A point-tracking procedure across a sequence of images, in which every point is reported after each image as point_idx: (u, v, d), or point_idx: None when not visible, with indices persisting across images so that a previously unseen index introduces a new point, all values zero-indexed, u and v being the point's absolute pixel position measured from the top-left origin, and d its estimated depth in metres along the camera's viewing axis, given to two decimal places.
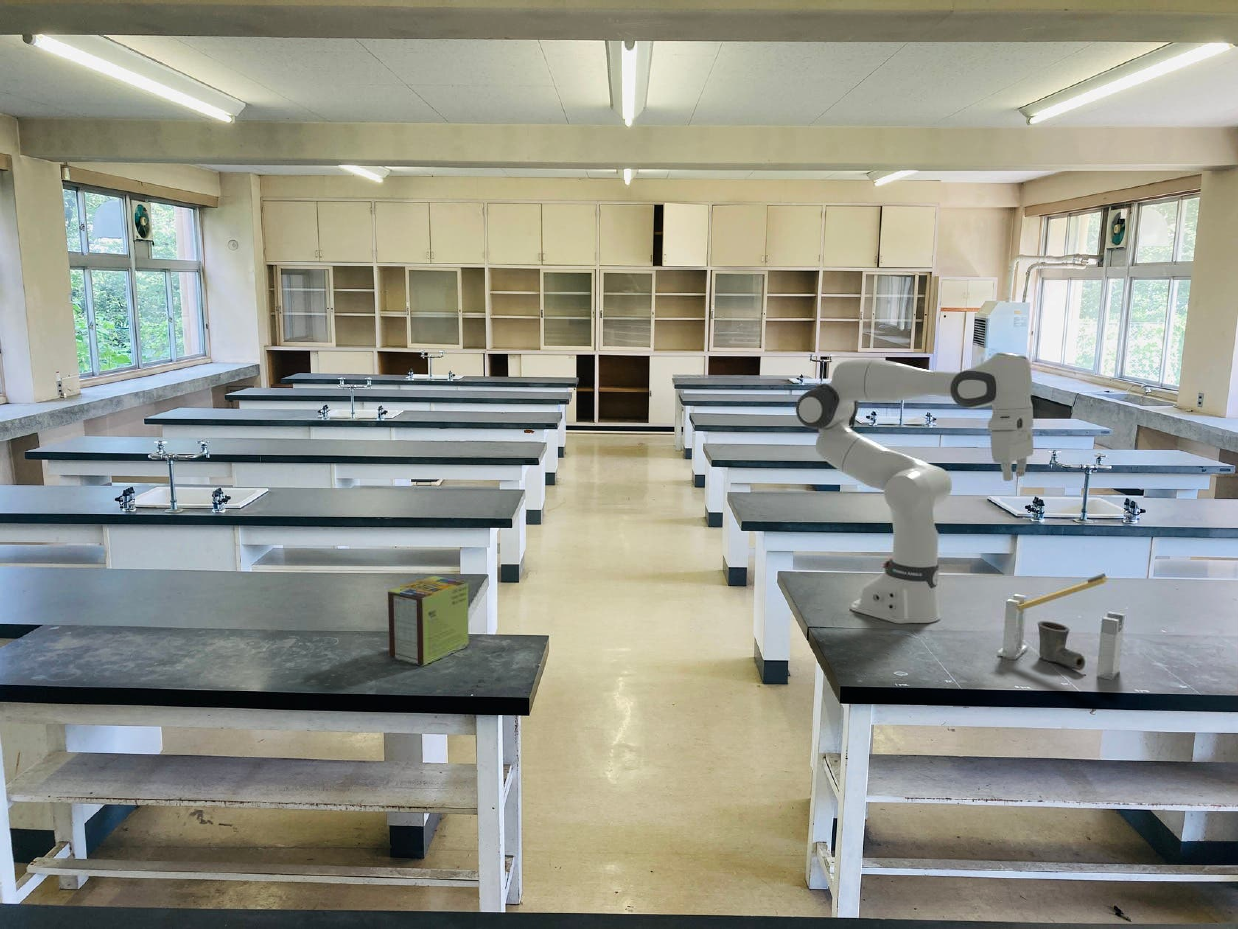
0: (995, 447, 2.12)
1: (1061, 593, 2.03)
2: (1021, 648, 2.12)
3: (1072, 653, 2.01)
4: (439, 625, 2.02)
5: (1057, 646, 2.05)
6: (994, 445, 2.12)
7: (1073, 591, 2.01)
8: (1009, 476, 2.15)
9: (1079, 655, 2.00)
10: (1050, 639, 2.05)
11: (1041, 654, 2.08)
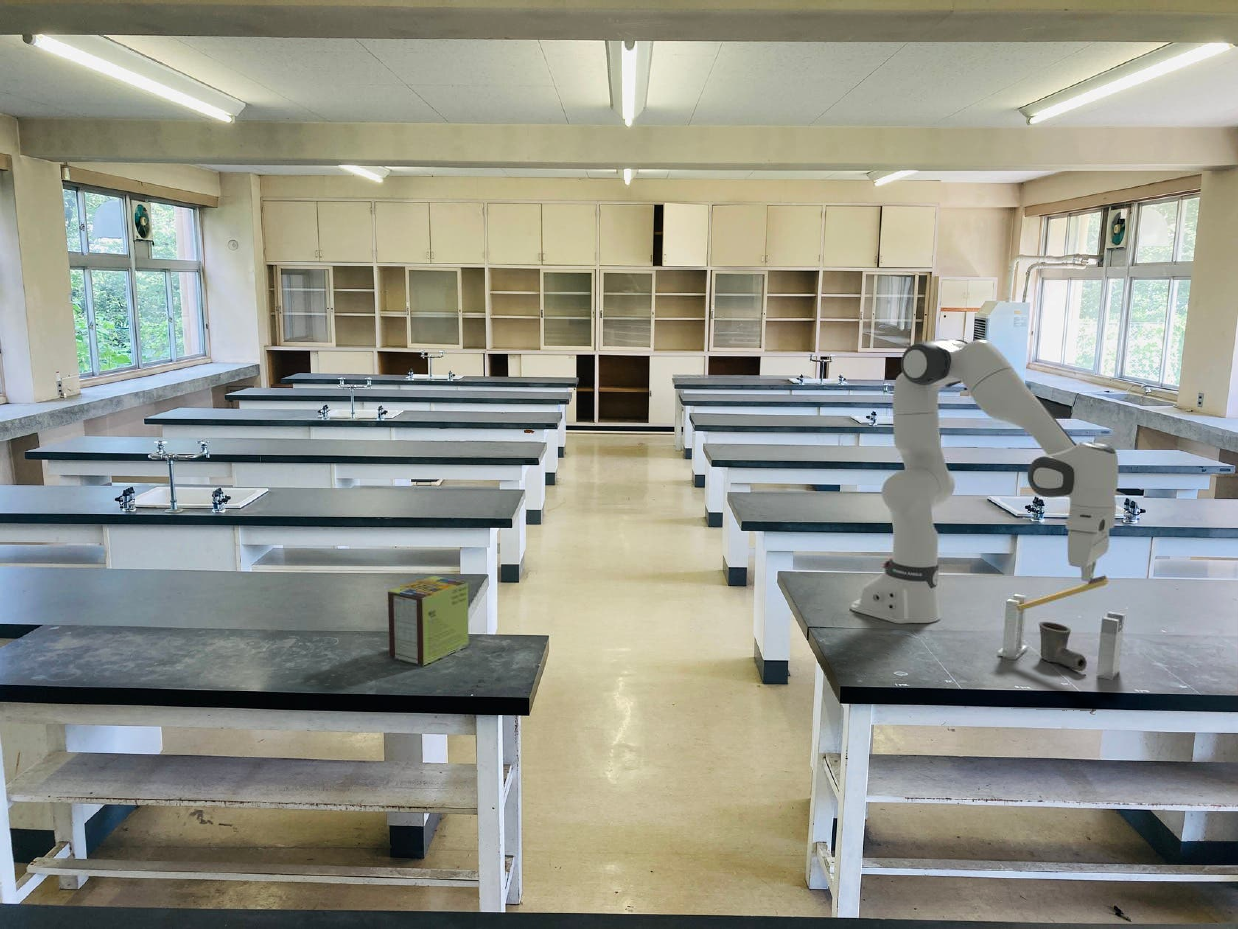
0: (1072, 550, 1.93)
1: (1062, 594, 2.03)
2: (1021, 648, 2.12)
3: (1073, 654, 2.00)
4: (439, 625, 2.02)
5: (1058, 647, 2.04)
6: (1071, 547, 1.93)
7: (1074, 592, 2.01)
8: (1088, 576, 1.99)
9: (1080, 656, 1.99)
10: (1051, 640, 2.05)
11: (1042, 655, 2.07)
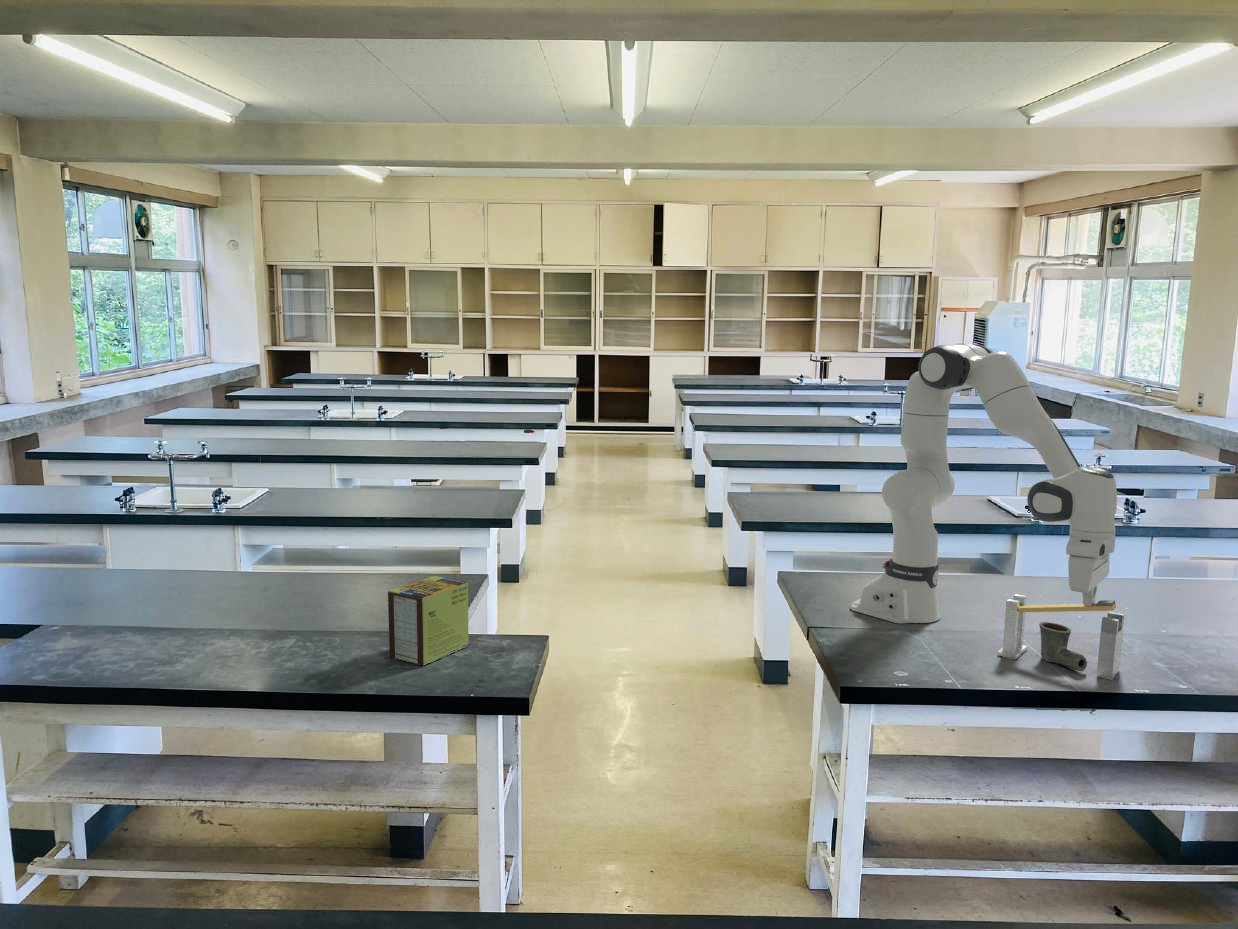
0: (1073, 575, 1.93)
1: (1066, 608, 2.02)
2: (1021, 648, 2.12)
3: (1074, 654, 2.00)
4: (439, 625, 2.02)
5: (1059, 647, 2.04)
6: (1072, 572, 1.93)
7: (1079, 609, 2.01)
8: (1090, 601, 1.99)
9: (1081, 656, 1.99)
10: (1052, 640, 2.05)
11: (1043, 655, 2.07)
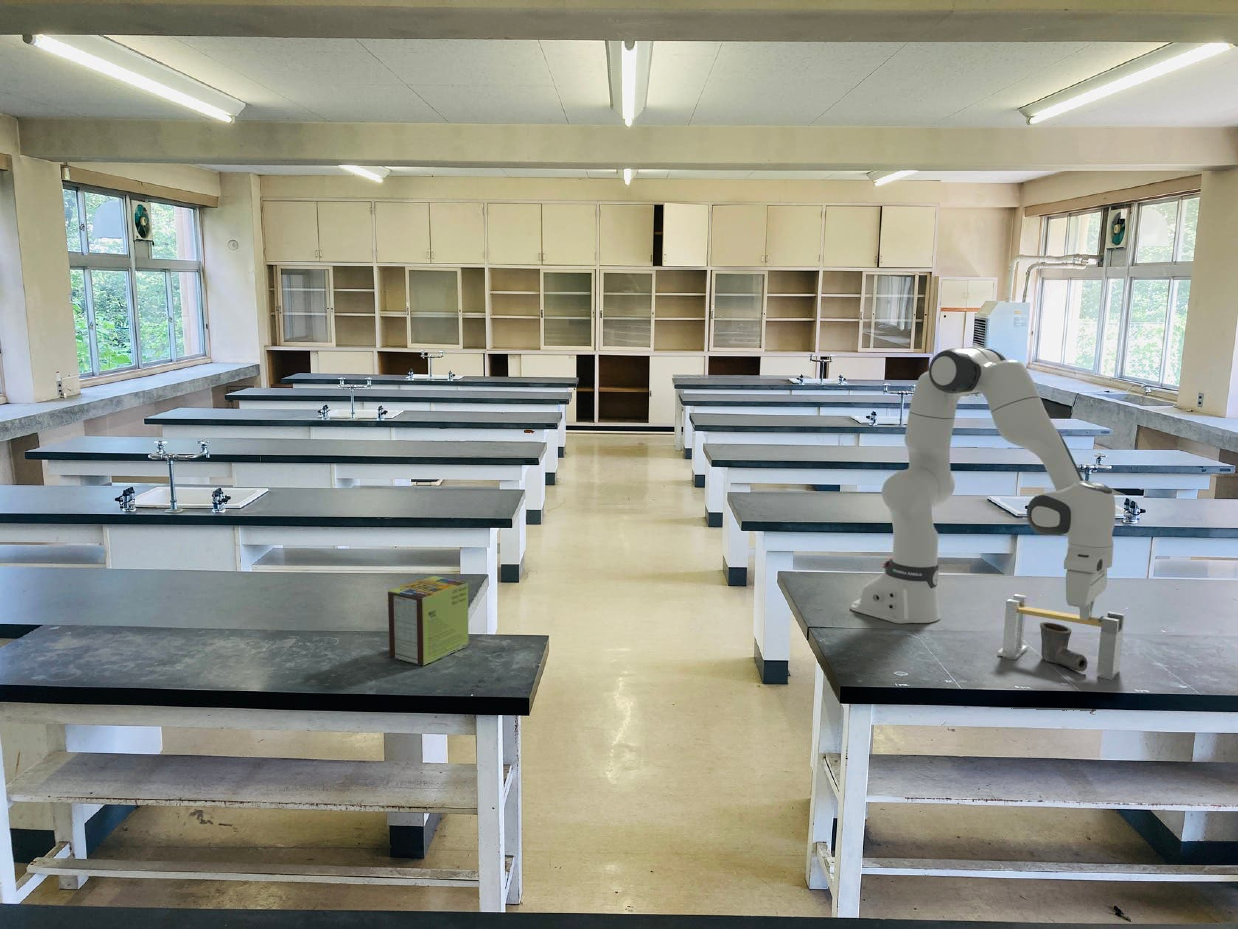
0: (1070, 590, 1.94)
1: (1067, 618, 2.03)
2: (1021, 648, 2.12)
3: (1074, 654, 2.00)
4: (439, 625, 2.02)
5: (1059, 647, 2.04)
6: (1069, 587, 1.94)
7: (1079, 621, 2.01)
8: (1086, 615, 2.00)
9: (1081, 656, 1.99)
10: (1052, 640, 2.05)
11: (1043, 655, 2.07)
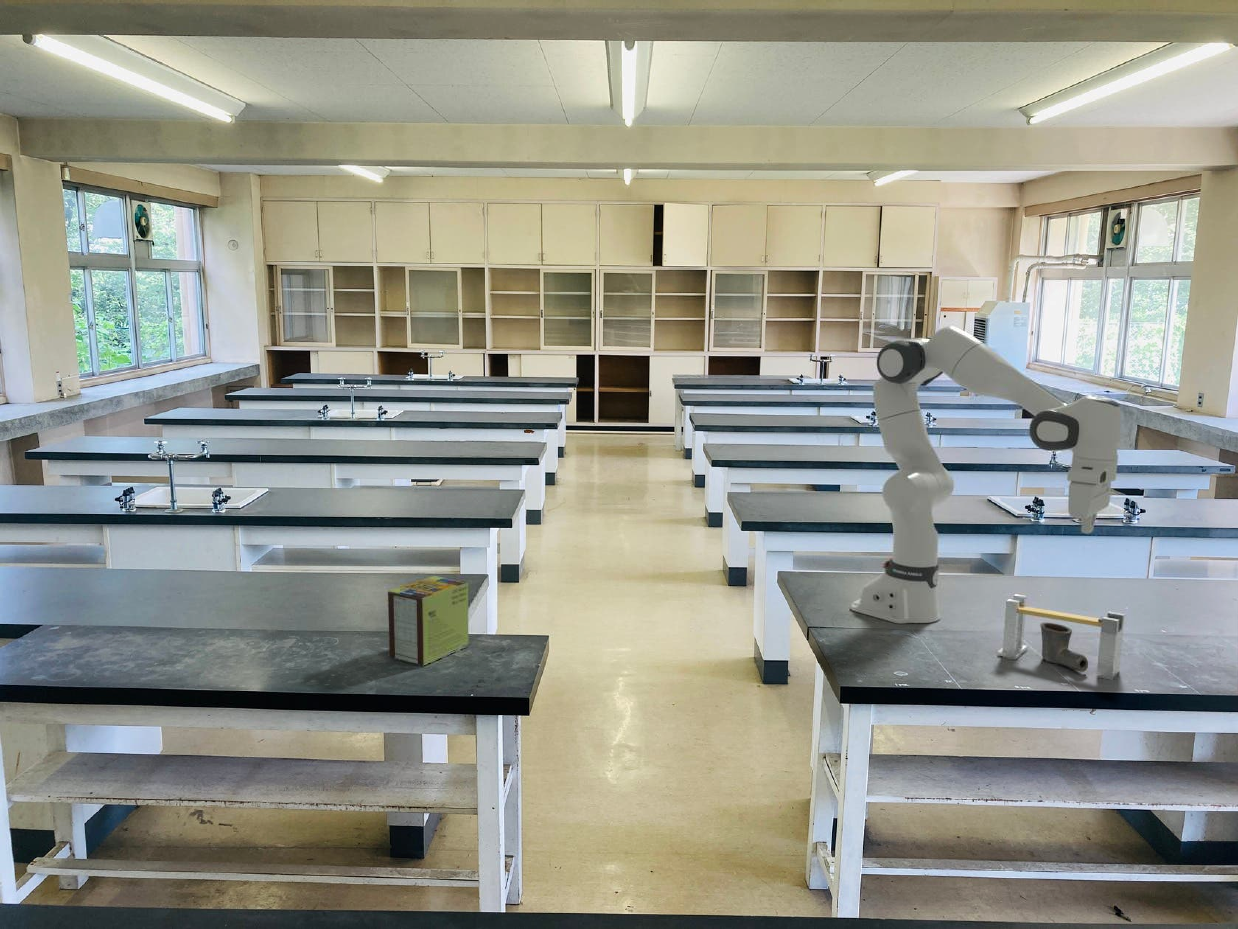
0: (1073, 501, 1.95)
1: (1067, 618, 2.03)
2: (1021, 648, 2.12)
3: (1075, 654, 2.00)
4: (439, 625, 2.02)
5: (1060, 647, 2.04)
6: (1072, 498, 1.96)
7: (1079, 622, 2.01)
8: (1088, 528, 2.02)
9: (1082, 656, 1.99)
10: (1053, 640, 2.04)
11: (1044, 656, 2.07)
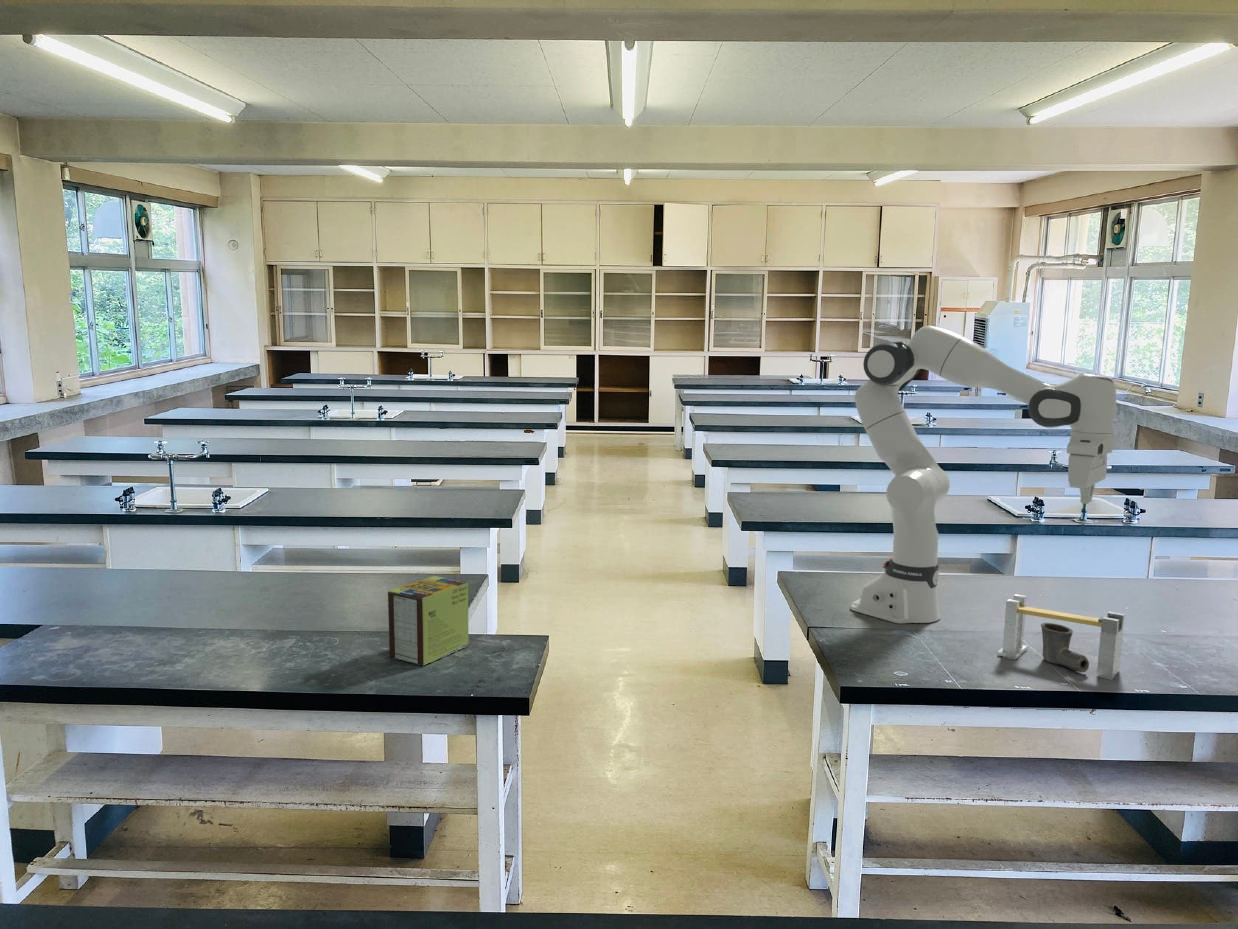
0: (1072, 472, 2.07)
1: (1067, 618, 2.03)
2: (1021, 648, 2.12)
3: (1076, 655, 2.00)
4: (439, 625, 2.02)
5: (1060, 648, 2.04)
6: (1072, 469, 2.07)
7: (1079, 622, 2.01)
8: (1087, 499, 2.13)
9: (1083, 657, 1.98)
10: (1053, 641, 2.04)
11: (1044, 656, 2.07)
